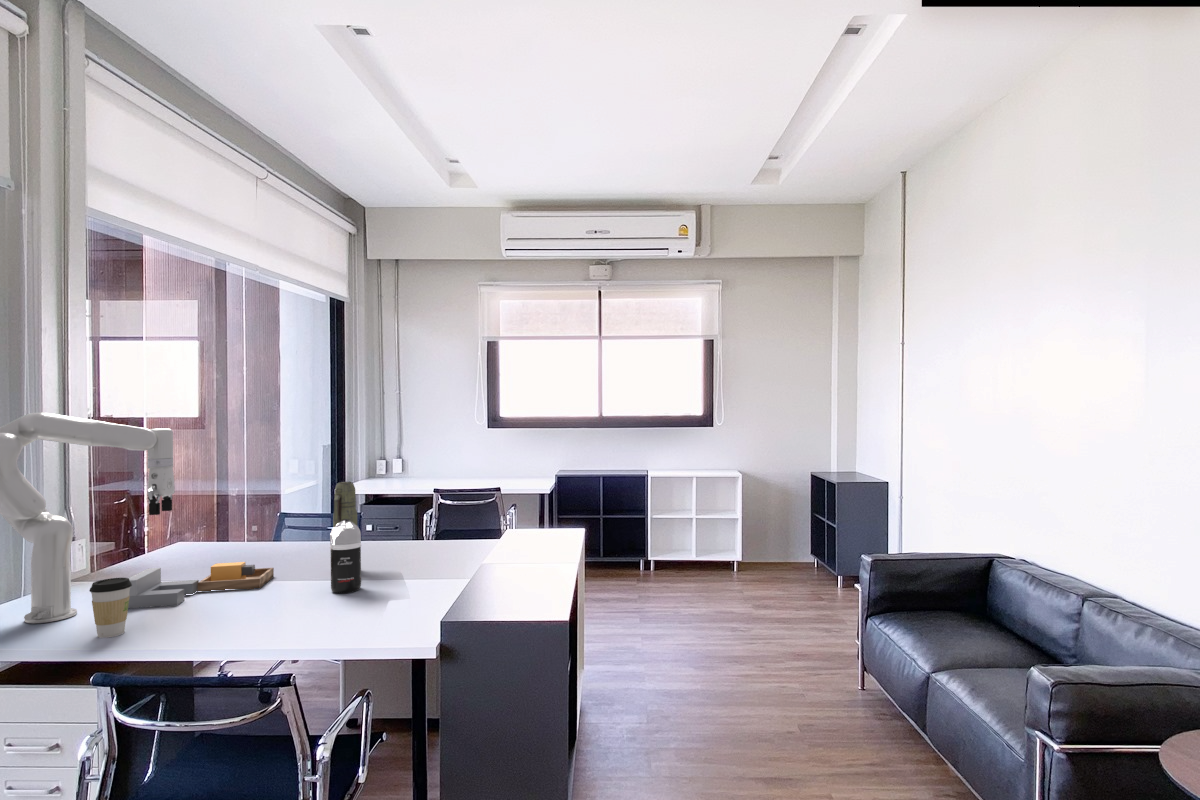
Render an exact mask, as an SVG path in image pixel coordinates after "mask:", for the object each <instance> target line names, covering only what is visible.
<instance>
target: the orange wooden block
mask: <svg viewBox="0 0 1200 800" xmlns="http://www.w3.org/2000/svg"><path fill="white" fill-rule="evenodd" d="M246 563H247V562H246V561H236V562H220V563H215V564H213V565H211V566H210V575H211V581H222V580H238V579H246V575H253V574H254V573H255V569H256V564H246Z"/></svg>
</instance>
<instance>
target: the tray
mask: <svg viewBox="0 0 1200 800" xmlns="http://www.w3.org/2000/svg"><path fill="white" fill-rule="evenodd" d="M274 571H275V570H274V567H263V568H255V573H254V574H253V575H246V579H238V580H222V581H211V574H209V575H208V576H206V577H205V578H203V579H202V580H200V581H199V582H198V591H211V590H225V589H247V590H255V589H254V588H260V589H261V588H262V587H264V586H265V585H266V584H267V583H269V581H271V580H272V579H273V578H274V577H275V576H274V575H275V574H274ZM264 584H265V585H264Z"/></svg>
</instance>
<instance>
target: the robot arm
mask: <svg viewBox="0 0 1200 800" xmlns="http://www.w3.org/2000/svg"><path fill="white" fill-rule="evenodd" d="M38 440H39V441H49V442H53V443H54V442H55V443H63V444H70V445H71V444H72V445H77V446H78V445H79V446H85V447H86V446H87V447H111V448H112V447H113V448H119V449H120V448H121V449H124V450H128V451H140V452H141V451H142V452H143V451H147V469H149V470H148V479H147V480H148V483H147V484H148V485H147V499H148V515H149V516H159V515H160V514H161V512H171V511H173V494H175V492H176V491H175V475H174V431H173V429H172V428H161V427H160V428H150V429H149V428H146V427H139V426H133V425H126V424H118V423H115V422H107V421H102V420H95V419H89V418H84V417H83V418H82V417H77V416H70V415H64V414H59V413H58V414H56V413H51V412H30V413H28V414H27V413H26V414H24V415H23V416H22V415H21V416H20V417H18V418H16V419H14V420H12V421H10V422H8V423H6V424H4V425H2V426H0V516H1V517H2V518H3V519H5V520H4V521H6V522H7V523H8V524H9V525H10V526H11V527H12V528H13V530H15V532H17V533H18V535H20V537H22V538H23V539H24V540H26V541H27V542H29V543H32V544H33V545H32V551H31V557H30V560H31V561H30V573H31V575H30V576H31V577H30V582H31V583H30V590H31V591H30V593H31V594H30V598H31V600H30V612H28V613H26V614H25V615H24V616H23V617H24V618H23V619H24V622H25V623H27V624H45V623H52V622H57V621H62V620H65V619H69V618H71V617H74V616H76V615H77V614H78V610H77V608H73V607H72V605H71V604H72V603H71V602H72V601H71V600H72V599H71V597H72V596H71V595H72V592H71V591H72V590H71V589H72V586H71V585H72V576H71V575H72V573H71V572H72V571H71V567H72V566H71V563H72V562H71V554H72V552H71V551H72V543H73V538H74V528H73V525H72V523H71V522H70V520H69V519H68V518H65V517H63V516H61V515H58V514H57V515H56V514H52V513H50V512H49V510H48V509H47V508H46V507H47V503H46V499H45V497H44V496H43V494H42V493H40V491H38V490H37V489H36V487H35V486H33V485H32V483H31V482H30V481H29V480H28V479H27V478H26V476H25V475H24V474H23V473H22V472H21V470H20V469H19V466H18V459H19V457H20V455H21V453H22V452H23V451H22V450H23V448H24V447H26V446H28V445H30V444H31V443H33V442H35V441H38ZM160 499H161V502H160Z"/></svg>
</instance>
